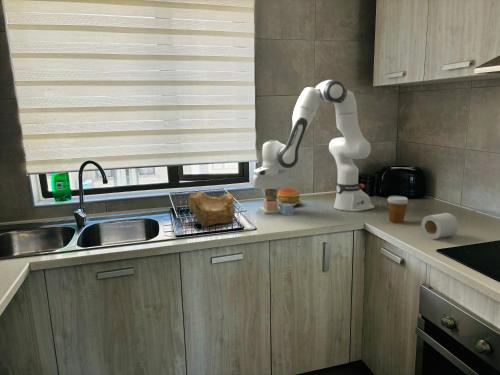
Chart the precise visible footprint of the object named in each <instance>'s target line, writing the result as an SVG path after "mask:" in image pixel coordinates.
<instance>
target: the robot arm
mask: <svg viewBox="0 0 500 375" xmlns="http://www.w3.org/2000/svg"><path fill="white" fill-rule="evenodd" d="M323 102H325V103H333V105H334V108H335V111H334V112H335V120H336V128H337V130H338V132H340V133H341V135H342V136H343V137H342V136H341V137H335V138H332V139H331V140H330V142H329V144H328V150H329V153H330V154H331V155H332V157H333V159H334V161H335V164H336V168H337V169H336V170H337V179H336V180H337V182H336V189H335V190H336V191H335V192H336V193H335V194H336V196H335V200H334V204H333V208H334V209H336V210H338V211H339V210H341V211H348V212H355V213H356V212H361V211H366V210H371V209H374V208H375V205H374V204H372V203H371V198H370V196H369V194H367V193H366V192H364V191H363V188H365V184H363V183H359V168H358V167H357V165H355V163H354V161H353V159H354V160H361V159H362V160H364V159H367V158H368V156H369V155H370V154H371V151H372V148H371V144H370V142H369V141H368V140H367V139H366V138H365V137H364V135H363V134H362V131H361V129H360V125H359V118H358V106H357V100H356V97H355V94H354V92H352V91H350V90H347V89H346V88H345V86H344V85H343V83H342V82H341V81H339V80H336V79H327V80H322V81H320V82H319V83H318V84H316V86H314V87H313V86H307V87H305V88H303V90H302V92H301V93H300V95H299V97H298V99H297V101H296V104H295V106H294V109H293V113H292V116H291V118H292V120H291V121H292V129H291V131H290V135H289V136H288V137H289V138H288V141H286V142H287V143H286V144H284V143H281V142H280V141H278V140H277V139H269V140H266V141H265V142H264V143H263V144H262V151H261V154H262V155H261V156H262V158H261V159H262V163H261V164H262V166H261V167H257V168H255V169H254V170H253V173H254V174H253V175H252V180H251V181H252V182H251V186H252V188H253V189H256V190H258V189H261V191H262V193H263V197H264V196H267V193H266V192H265V191H264V190H265V188H275V189H276V190H277V196H278V192H279V191H280V190H281V187H288V186H289V171H288V170H287V169H291V168H293V167H295V166H296V165H297V163H298V161H299V149H300V145H301V143H302V140H303V138H304V135H305V133H306V131H307V129H308V127H309V126H310V124H311V122H312V121H313V119H314V118H315V115H316V113H317V110H318V107H319V106H320V104H321V103H323ZM280 166H281V167H283V168H285V169H279V167H280ZM361 188H362V189H361Z"/></svg>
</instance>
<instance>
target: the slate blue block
mask: <svg viewBox="0 0 500 375" xmlns="http://www.w3.org/2000/svg"><path fill="white" fill-rule="evenodd" d="M279 208H280V212H279V213H281V214H282V215H283V216H289V215H290V216H291V215H294V206H293V205H292V204H290V203H281V204H280V205H279Z"/></svg>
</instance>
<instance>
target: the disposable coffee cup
mask: <svg viewBox="0 0 500 375" xmlns="http://www.w3.org/2000/svg"><path fill="white" fill-rule="evenodd" d="M386 201H387V204H388V205H387V206H388V216H389V217H388V220H389V223H392V224H403V223H404V220H405V214H406V210H407V205H408V203H409V199H408V197H406V196H401V195H391V196H388V198H387V199H386Z"/></svg>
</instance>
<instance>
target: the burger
mask: <svg viewBox="0 0 500 375" xmlns="http://www.w3.org/2000/svg"><path fill="white" fill-rule="evenodd" d="M300 197H301V196H300V192H299V191H298V190H297V189H295V188H292V187H284V188H280V189H279V191H278V195H277V199H276V200H277V201H278V206H280V204H281V203H290V204H292V205H293V207H296V206H298V205H299V204H300V203H301V200H300Z"/></svg>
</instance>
